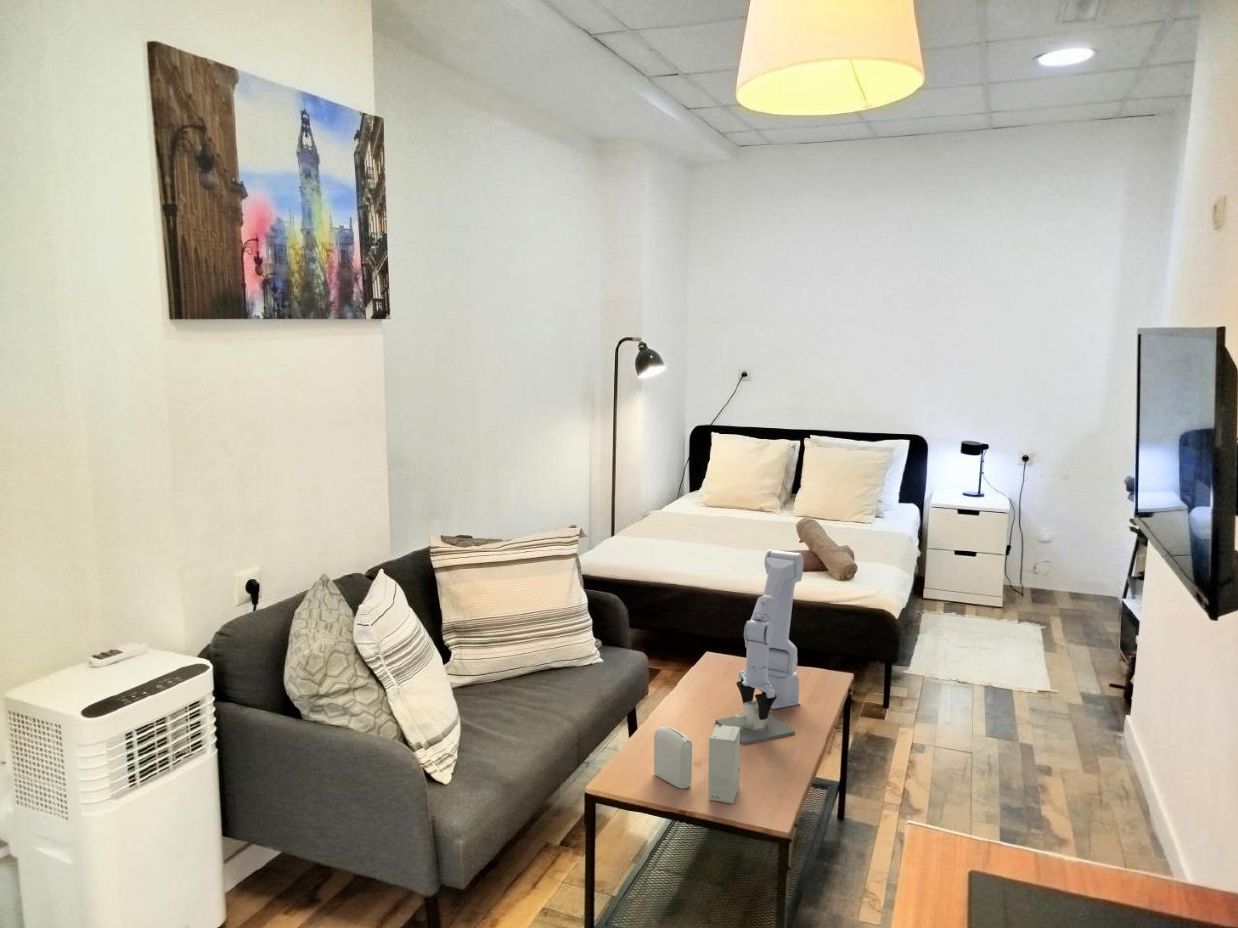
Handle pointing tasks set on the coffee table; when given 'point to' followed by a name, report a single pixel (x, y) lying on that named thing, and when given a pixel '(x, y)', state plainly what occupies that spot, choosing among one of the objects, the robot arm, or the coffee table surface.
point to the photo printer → (673, 757)
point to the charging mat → (759, 729)
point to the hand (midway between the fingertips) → (755, 713)
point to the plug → (750, 716)
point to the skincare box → (724, 763)
